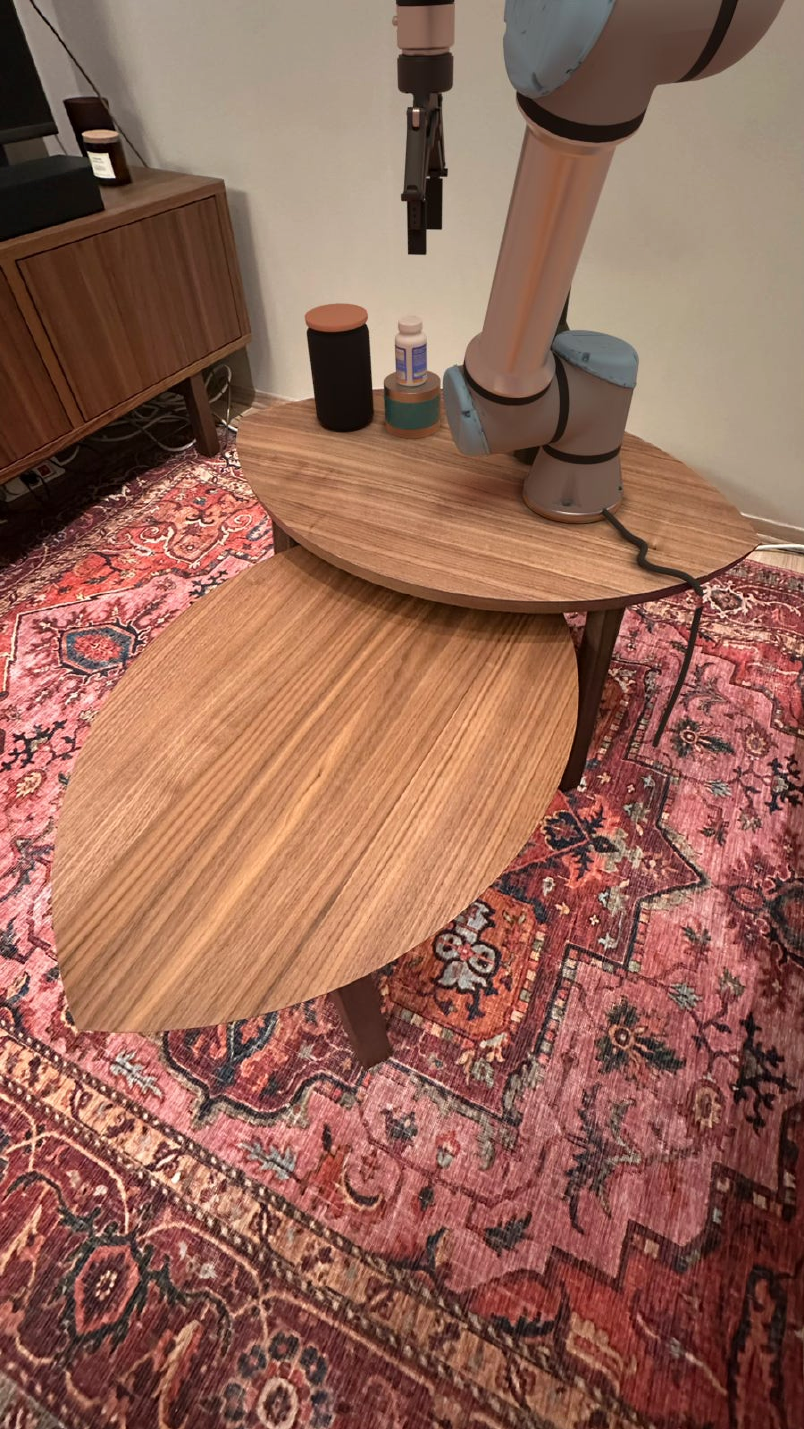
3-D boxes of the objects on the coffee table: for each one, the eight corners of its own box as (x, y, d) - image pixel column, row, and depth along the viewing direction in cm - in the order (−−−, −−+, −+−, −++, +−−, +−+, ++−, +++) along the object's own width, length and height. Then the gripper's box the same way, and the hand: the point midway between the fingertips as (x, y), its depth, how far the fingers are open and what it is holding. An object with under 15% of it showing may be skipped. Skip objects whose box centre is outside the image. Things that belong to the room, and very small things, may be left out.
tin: (450, 430, 124) (451, 385, 118) (400, 443, 121) (398, 398, 115) (424, 408, 130) (424, 364, 124) (376, 420, 127) (373, 376, 121)
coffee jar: (341, 402, 133) (331, 299, 119) (385, 416, 128) (380, 310, 115) (305, 424, 127) (290, 318, 114) (350, 439, 123) (340, 330, 109)
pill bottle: (428, 374, 121) (428, 314, 114) (425, 387, 118) (425, 326, 110) (397, 374, 122) (395, 313, 114) (394, 387, 118) (392, 326, 111)
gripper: (415, 42, 99) (417, 219, 115) (375, 62, 83) (384, 265, 99) (467, 41, 98) (461, 220, 114) (436, 61, 82) (435, 266, 97)
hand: (425, 241), depth 106 cm, fingers open, 13 cm apart
